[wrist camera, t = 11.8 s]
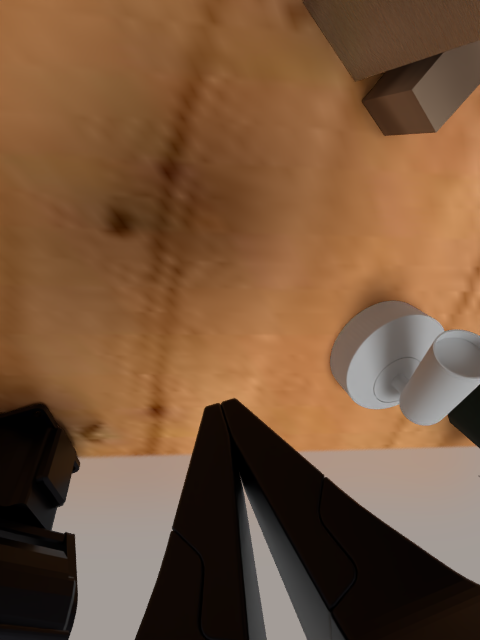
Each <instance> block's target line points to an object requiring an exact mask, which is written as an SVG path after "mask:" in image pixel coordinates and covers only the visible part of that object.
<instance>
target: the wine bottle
mask: <svg viewBox="0 0 480 640" xmlns="http://www.w3.org/2000/svg"><path fill="white" fill-rule="evenodd" d="M448 416H449V421H450V423H451V424H453V425H454V426H455V427H456V428H457V429H458V430H459V431H461V432H462V433H463V434H464V435H465V436H466V437H467V438H469V439H470V440H471V441H472V442H473V443H474V444H475V445H477V446H478V447H479V448H480V385H478V386H477V387H476V388H475V389H474V390H473V391H472V392H471V393H470V394H469V395H468V396H467V397H466V398H464V399H463V400H462V401H461V402H460V403H459V404H458V405H457V406H456V407H455V408H454V409H453V410H452V411H450V412H449V413H448Z"/></svg>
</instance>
